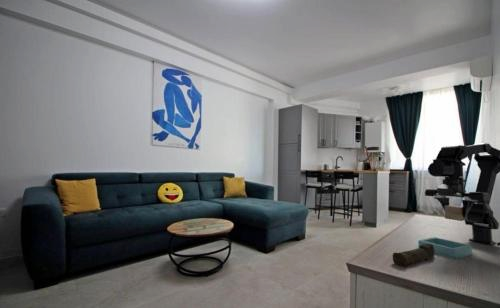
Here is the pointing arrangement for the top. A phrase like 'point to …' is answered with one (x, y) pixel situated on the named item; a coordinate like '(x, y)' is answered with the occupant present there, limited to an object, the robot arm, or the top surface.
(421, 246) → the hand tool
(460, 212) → the walnut block
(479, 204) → the robot arm
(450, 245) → the tray
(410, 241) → the top surface
